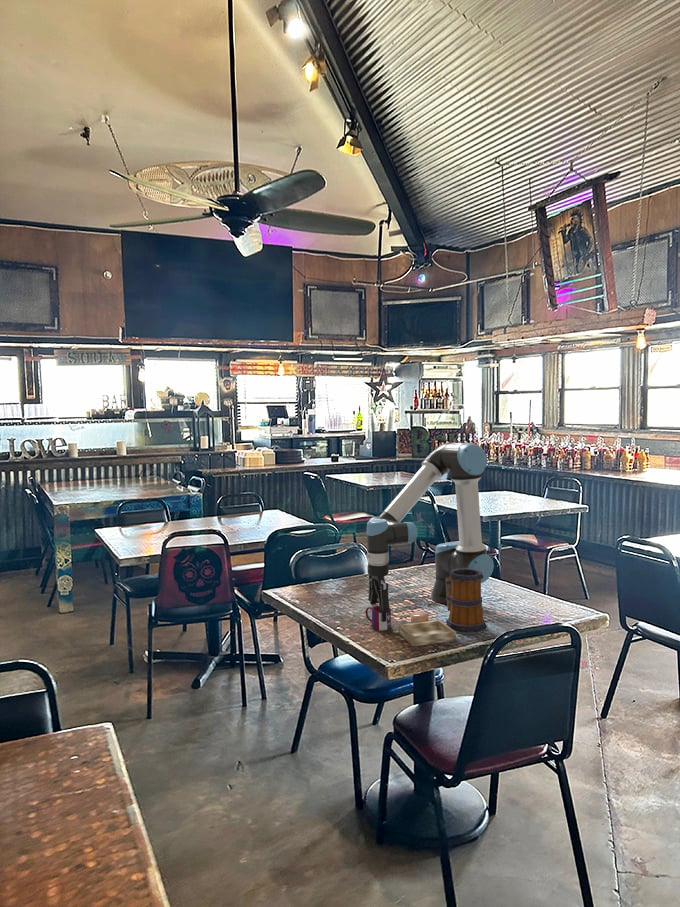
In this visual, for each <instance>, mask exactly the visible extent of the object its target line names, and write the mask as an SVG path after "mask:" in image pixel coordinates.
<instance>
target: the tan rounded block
mask: <svg viewBox="0 0 680 907" xmlns="http://www.w3.org/2000/svg"><path fill="white" fill-rule="evenodd" d="M421 622H429V613H427V612H423V611H414V612H411V613H410V624H412V623H421Z"/></svg>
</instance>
